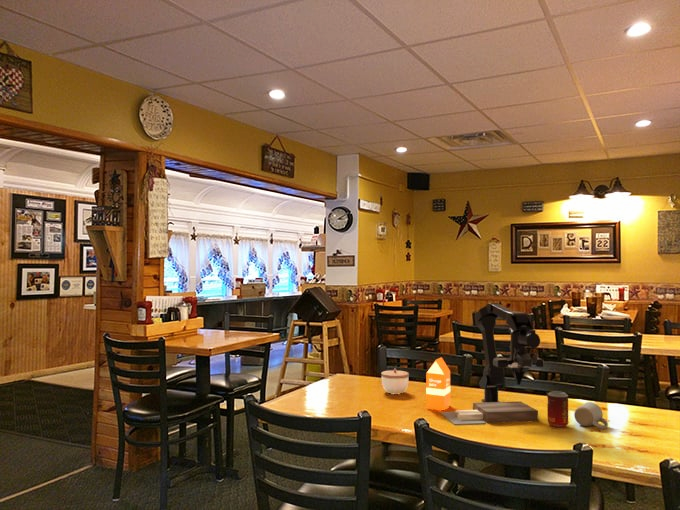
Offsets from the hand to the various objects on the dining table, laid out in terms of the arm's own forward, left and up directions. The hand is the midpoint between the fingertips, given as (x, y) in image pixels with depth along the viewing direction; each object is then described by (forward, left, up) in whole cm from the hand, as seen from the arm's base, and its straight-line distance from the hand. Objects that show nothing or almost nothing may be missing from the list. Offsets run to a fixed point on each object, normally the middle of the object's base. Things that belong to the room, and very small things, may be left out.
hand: (518, 384), depth 210 cm
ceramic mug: (+16, +21, -12) cm, 29 cm away
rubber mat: (+2, -23, -12) cm, 26 cm away
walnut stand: (+2, -6, -12) cm, 14 cm away
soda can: (+16, +8, -12) cm, 21 cm away
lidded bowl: (-42, -39, -12) cm, 59 cm away
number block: (+2, -21, -12) cm, 24 cm away
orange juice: (-15, -27, -12) cm, 34 cm away
